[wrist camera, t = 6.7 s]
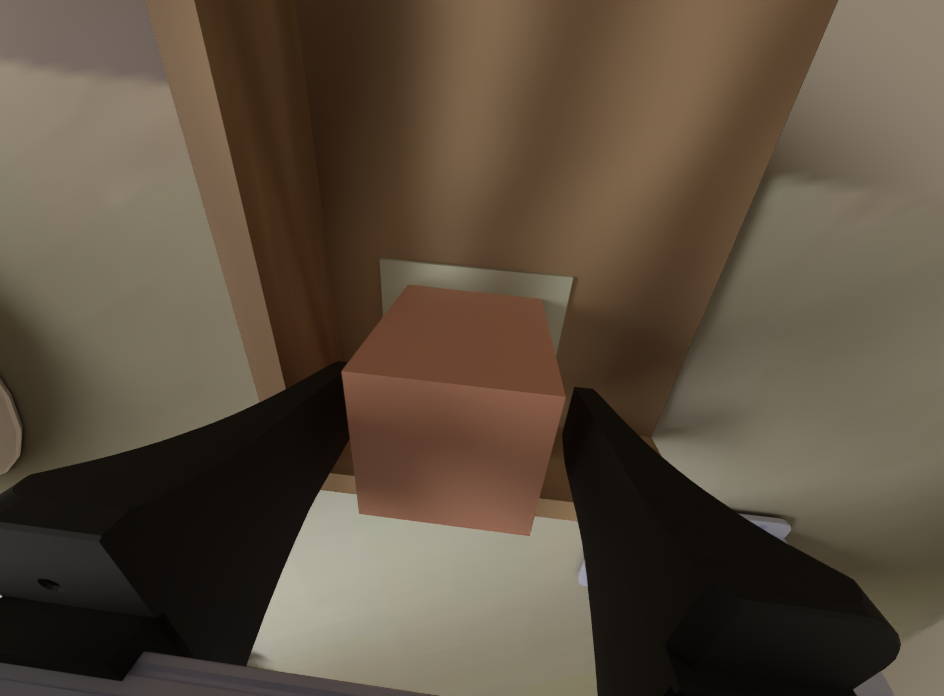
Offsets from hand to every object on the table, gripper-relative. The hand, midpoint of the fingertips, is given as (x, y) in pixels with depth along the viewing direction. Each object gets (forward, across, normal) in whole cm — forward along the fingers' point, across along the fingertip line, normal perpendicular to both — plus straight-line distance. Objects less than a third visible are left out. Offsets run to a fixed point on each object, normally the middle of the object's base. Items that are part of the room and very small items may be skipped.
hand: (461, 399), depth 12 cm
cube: (+3, 0, 0) cm, 3 cm away
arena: (+4, -1, -4) cm, 5 cm away
